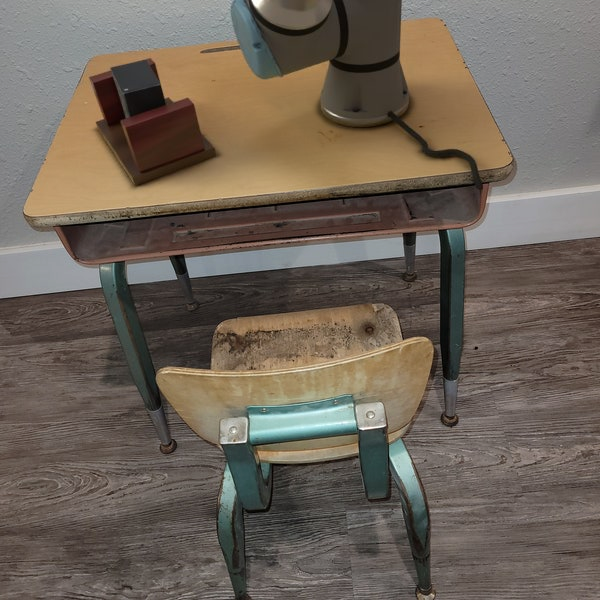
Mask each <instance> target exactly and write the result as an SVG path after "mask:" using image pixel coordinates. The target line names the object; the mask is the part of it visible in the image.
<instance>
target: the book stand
mask: <svg viewBox="0 0 600 600" xmlns="http://www.w3.org/2000/svg"><path fill="white" fill-rule="evenodd" d="M146 60H147V62H148V64H149V65H150V67H151V69H152V70H153V72H154V74H155V75H156V77H157V79H158V80H159V82H160V84H161V80H160V75H159V71H158V68H157V65H156V62H155V61H154V60H153V59H152V58H146ZM88 79H89V83H90V84H91V87H92V90H93V93H94V95H95V99H96V101H97V104H98V107H99V111H100V112H101V115H102V119H99V120H96V121H95V125H96V127H97V130H98V132H99V133H100V134H101V136H102V137H103V139H104V140H105V142H106V144H107V145H108V147H109V148H110V150H111V151H112V153H113V154H114V156H115V157H116V159H117V161H118V162H119V163H120V165H121V167H122V168H123V169H124V171H125V173H126V174H127V176H128V177H129V179H130V180H131V181H132V183H133V185H134V186H135V187H136V186H138V185H142V184H144V183H146V182H150V181H153V180H155V179H158V178H160V177H163V176H165V175H168V174H171V173H174V172H176V171H178V170H181V169H184V168H187V167H189V166H192V165H194V164H198V163H200V162H203V161H206V160H208V159H210V158H214V157H216V156H217V153H216V149H215V147H214V146H213V144H212V143H211V141H209V140H208V139H207V138H206V137H205V136H204V134H202V131H201V127H200V124H199V119H198V114H197V111H196V107H195V106H196V105H195V103H194V102H193V101H192V100H191V99H190V98H189V97H186V98H183V99H179V100H176V101H173V100H172V99H171V98H170V97H169V96H168V97H164V98H165V102H166V105H164V106H162V107H159V108H156V109H153V110H150V111H147V112H144V113H141V114H138V115H135V116H132V117H129V118H126V117H125V113H124V110H123V107H122V103H121V100H120V97H119V93H118V90H117V87H116V84H115V81H114V78H113V75H112V72H111V70H110V69H109V70H107V71H104V72H101V73H98V74H95V75H91V76H88ZM161 85H162V84H161ZM162 91H163V89H162ZM163 92H164V91H163Z"/></svg>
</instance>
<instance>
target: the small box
mask: <svg viewBox="0 0 600 600" xmlns="http://www.w3.org/2000/svg"><path fill="white" fill-rule="evenodd" d="M146 59H147V58H146ZM146 59H141V60H138V61H132V62H130V63H129V62H128V63H123V64H120V65H115V66H110V68H109V71H110V70H111V72H112V75H113V78H114V81H115V84H116V87H117V90H118V93H119V97H120V100H121V103H122V107H123V110H124V113H125V117H126V118H129V117H132V116H135V115H138V114H141V113H144V112H147V111H150V110H153V109H156V108H159V107H162V106H164V105H166V102H165V98H166V97H165V95H164V91H162V90H163V87H162V84H160V83H161V81H160V82H159V80H158V79H157V77H156V75H155V74H154V72H153V70H152V69H151V67H150V65H149V64H148V62H147V60H146Z"/></svg>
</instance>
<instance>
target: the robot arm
mask: <svg viewBox="0 0 600 600" xmlns="http://www.w3.org/2000/svg"><path fill="white" fill-rule="evenodd" d="M402 5H403V0H233V1H232V2H231V4H230V18H231V23H232V27H233V30H234V31H233V32H234V34H235V37H236V40H237V43H238V46H239V48H240V51H241V53H242V55H243V58H244V60H245V62H246V64H247V66H248V68H249V69H250V71H251V72H252V74H253V75H255V76H256V77H257V78H259V79H261V80H270V79H274V78H283V77H284V76H287V75H289V74H292V73H296V72H298V71H301V70H305V69H308V68H310V67H313V66H316V65H320V64H323V63H325V62H328V67H327V70H326V74H325V78H324V82H323V86H322V89H321V93H320V109H321V112H322V114H323V115H324V116H325V117H326V118H327V119H328V120H330V121H332V122H334V123H336V124H339V125H343V126H347V127H354V128H368V127H377V126H382V125H384V124H388V123H390V122H391V123H392V122H394V123H396V124H397V125H398V126H399V127H400V128H401V129H403V130H404V131H405V132H406V133H407V134H408V135H410V136H411V137H412V138H413V139H415V140H416V142H418V143H419V144H420V145H421V148H422V152H423V153H424V154H425V155H426V156H429V157H433V158H440V157H446V156H455V157H458V158H461V159H463V160H465V161H466V162H467V163H468V165H469V167H470V171H471V175H472V179H473V182H474V185H475V188H476V190H478V191H482V190H484V185H483V183H482V179H481V176H480V172H479V169H478V168H479V167H478V165H477V162H476V160H475V158H474V157H473V156H472V155H471V154H469V153H467V152H465V151H463V150H461V149H457V148H446V149H440V150H433V149H431V148H429V144H428V142H427V140H426V139H424V137H422V135H420V134H419V132H417V131H416V130H415V129H414V128H412V127H411V126H410V125H408V124H407V123H406V122H405V121H404V120H403V119H401V118H400V117H401V116H403V115H404V114H405V113H406V111H407V110H408V108H409V105H410V92H409V87H408V83H407V79H406V77H405V74H404V70H403V67H402V64H401V63H402V62H401V59H400V58H401V57H400V56H401V33H402V7H403V6H402Z"/></svg>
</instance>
